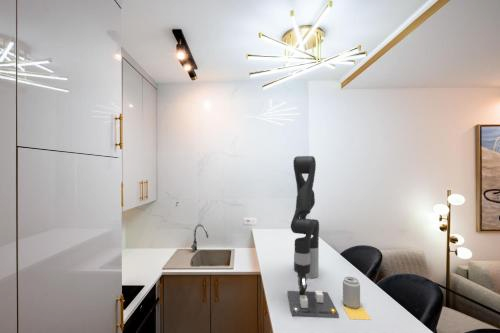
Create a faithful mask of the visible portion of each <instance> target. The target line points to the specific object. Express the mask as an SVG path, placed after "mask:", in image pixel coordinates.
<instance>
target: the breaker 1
mask: <svg viewBox="0 0 500 333" xmlns="http://www.w3.org/2000/svg"><path fill="white" fill-rule="evenodd" d="M300 306H301V308H308V299H307V296H306V295H300Z"/></svg>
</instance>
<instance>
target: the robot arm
mask: <svg viewBox="0 0 500 333" xmlns="http://www.w3.org/2000/svg"><path fill="white" fill-rule="evenodd" d="M292 162H293V172H294V177H295V182H296V192H297V193H296V200H295V201H296V202H295V211H294V215H293V218H292V219H291V222H290V230H291V232H292V233H293V234H298V235H299V234H300V235H301V234H302V235H305V236H303V237H302V236H301V237H297V238H295V240H294V253H293V255H294V256H293V271H294V272H295V273H296V274H297V275H296V276H297V285H298V289H299V290H298V291H299V296H300V295H305V292H306V291H307V289H308V284H307V281H308V279H309V278H310V279H317V278H318V277H319V268H320V267H319V265H320V263H319V257H320V255H319V237H320V236H319V234H320V222H319V220H318V219H316V218H314V219H313V218H312V219H311V218H306V217H307V216H308V215H309V214H310V213H311V211H312V209H313V208H314V206H315V202H316V199H315V192H314V190H313V188H314V182H315V176H316V175H315V174H316V168H317V167H316V165H317V163H316V158H315V156H313V155H304V156H303V155H299V156H295V157H294V158H293V161H292ZM306 174H307V178H306V180H305V178H304V176H303V175H306Z"/></svg>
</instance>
